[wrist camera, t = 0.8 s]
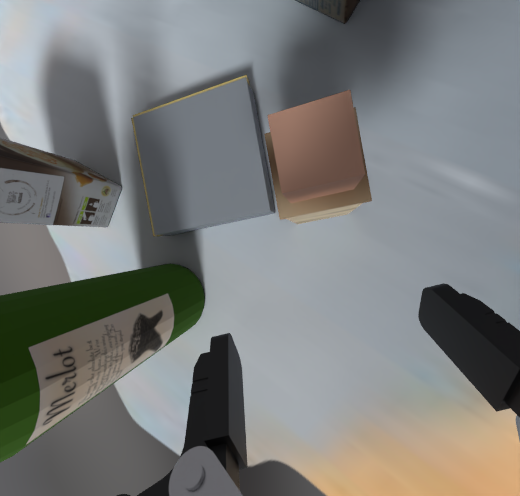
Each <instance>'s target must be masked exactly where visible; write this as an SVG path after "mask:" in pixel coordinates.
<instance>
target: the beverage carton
mask: <svg viewBox="0 0 520 496" xmlns="http://www.w3.org/2000/svg"><path fill="white" fill-rule="evenodd" d="M296 1H298V2H300V3H302V4H304V5H306V6H308V7H311V8H313V9H315V10H317V11H319V12H321V13H324V14H326V15H328V16H330V17H332V18H334V19H336V20H339V21H341V22H342V23H344V24H345V23H346V22H347V21H348V19H349V18H350V16H351V15H352V13H353V11H354V10H355V8H356V6H357V5H358V3H359V1H360V0H296Z"/></svg>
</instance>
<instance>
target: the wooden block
mask: <svg viewBox="0 0 520 496" xmlns="http://www.w3.org/2000/svg"><path fill="white" fill-rule="evenodd" d="M354 114H355V119H356V125H357V130H358V136H359V142H360V147H361V153H362V158H363V164H364V170H365V175H364V177H363V178H362V179H361V181H360V182H359V183H358V185H357V186H356V187H355V189H353V190H349V191H344V192H340V193H335V194H331V195H326V196H321V197H317V198H312V199H308V200H303V201H299V202H294V203H290V202H289V201H288V200H287V199H286V198H285V196H284V195H283V194H282V192H281V187H280V181H279V176H278V170H277V165H276V159H275V154H274V148H273V142H272V137H271V132H269V133H266V134H264V135H265V140H266V146H267V151H268V157H269V162H270V168H271V173H272V179H273V184H274V190H275V195H276V201H277V206H278V212H279V217H280V220H282V219H288V220H290V221H292V222H294V223H296V224H301V223H306V222H311V221H316V220H321V219H326V218H331V217H336V216H341V215H346V214H349V213H350V212H351V211H353V210H354V209H355V208H357V207H358V206H359V205H361V204H362V203H365V202H370V201H372V198H371V193H370V187H369V182H368V176H367V170H366V165H365V159H364V154H363V148H362V142H361V137H360V131H359V126H358V120H357V114H356V109H355V107H354Z"/></svg>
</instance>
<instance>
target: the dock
mask: <svg viewBox="0 0 520 496" xmlns="http://www.w3.org/2000/svg"><path fill="white" fill-rule="evenodd" d="M131 119H132V124H133V129H134V135H135V140H136V145H137V151H138V156H139V161H140V167H141V172H142V178H143V183H144V188H145V194H146V199H147V204H148V210H149V215H150V221H151V226H152V231H153V236H162V235H174V234H179V233H184V232H188V231H193V230H198V229H202V228H207V227H212V226H217V225H221V224H226V223H231V222H235V221H240V220H245V219H250V218H254V217H259V216H264V215H268V214H273V213H275V208H274V203H273V197H272V192H271V186H270V181H269V175H268V170H267V164H266V159H265V153H264V148H263V142H262V137H261V131H260V126H259V120H258V115H257V109H256V104H255V98H254V93H253V91H252V89H251V87H250V84H249V80H248V77H247V75H244V76H241V77H239V78H236V79H233V80H230V81H228V82H225V83H222V84H219V85H216V86H214V87H211V88H208V89H205V90H202V91H200V92H197V93H194V94H191V95H188V96H186V97H183V98H180V99H177V100H174V101H172V102H169V103H166V104H163V105H161V106H158V107H155V108H152V109H149V110H147V111H144V112H141V113H138V114H135V115H133V118H131Z"/></svg>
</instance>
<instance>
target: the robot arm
mask: <svg viewBox="0 0 520 496" xmlns="http://www.w3.org/2000/svg"><path fill="white" fill-rule="evenodd" d="M419 321H420V323H421V325H422V327H423V328H424V330H425V331H426V332H427V333H428V334H429V335H430V337H431V338H432V339H433V340H434V341H435V342H436V343H437V344H438V346H439V347H440V348H441V349H442V350H443V351H444V352H445V354H446V355H447V356H448V357H449V358H450V359H451V360H452V361H453V363H454V364H455V365H456V366H457V367H458V368H459V369H460V371H461V372H462V373H463V374H464V375H465V376H466V377H467V379H468V380H469V381H470V382H471V383H472V384H473V385H474V386H475V388H476V389H477V390H478V391H479V392H480V393H481V394H482V396H483V397H484V398H485V399H486V400H487V401H488V402H489V403H490V405H491V406H492V407H493V408H494V409H495V410H496V411H500V410H505V409H509V408H511V409H512V410H513V411H514V412H515V413H516V414H517V416H516V425H517V430H518V435H519V440H520V331H519V330H518V329H516V328H515V327H514V326H512V325H511V324H510V323H507V322H506V320H505V319H503V318H502V317H501V316H499V315H498V314H495V313H494V311H493V310H492V309H490V308H489V307H488V306H487V305H485V304H484V303H483V302H481V301H480V300H477V299H475V298H473V297H471V296H469V295H467V294H464V293H463V294H459V293H458V292H457V291H456V290H455V289H453V288H452V287H451V286H449V285H448V284H440V285H435V286H431V287H427V288H424V289H423V291H422V297H421V302H420V308H419ZM245 468H247V451H246V433H245V415H244V397H243V379H242V367H241V361H240V357H239V354H238V351H237V349H236V346H235V344H234V341H233V339H232V336H231V334H230V333H227V334H223V335H219V336H215V337H212V338H211V345H210V352H207V353H203V354H201V355H200V357H199V359H198V361H197V363H196V365H195V367H194V373H193V384H192V389H191V397H190V405H189V413H188V421H187V429H186V436H185V443H184V448H183V451H182V454H181V456H180V458H179V460H178V461H177V463H176V465H175V467H174V468H173V469H172V470H171V471H170V473H168V474H167V475H166V476H165V477H164V478H163V479H162V480H160V481H158V482H157V483H155V484H154V485H153V486H151V487H149V488H148V489H146V490H145V491H143V492H142V493H140V494H139V495H137V496H243V495H242V493H241V492H240V490H239V470H241V469H245ZM117 496H130V495H127V494H121V495H117Z"/></svg>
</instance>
